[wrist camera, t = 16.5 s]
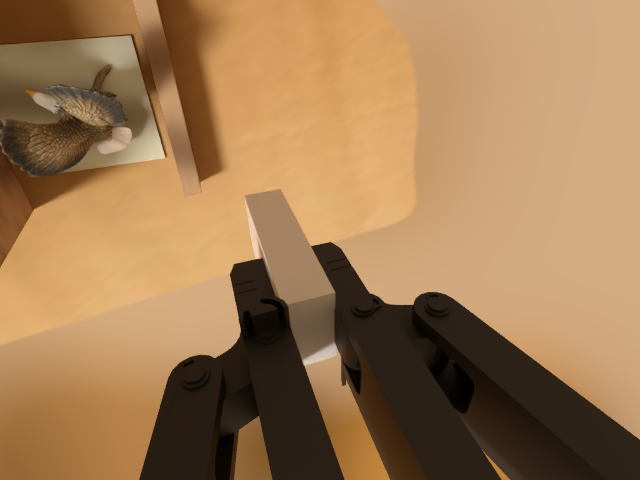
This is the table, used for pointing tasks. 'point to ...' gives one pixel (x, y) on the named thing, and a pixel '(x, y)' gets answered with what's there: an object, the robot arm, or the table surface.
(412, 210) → the table surface
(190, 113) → the table surface
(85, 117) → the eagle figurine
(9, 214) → the wall board
